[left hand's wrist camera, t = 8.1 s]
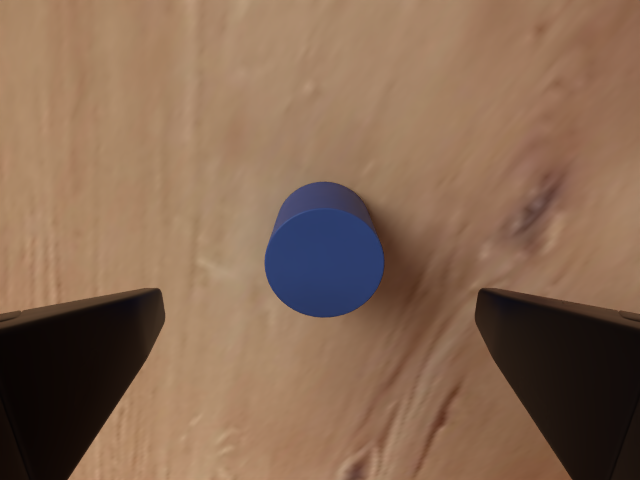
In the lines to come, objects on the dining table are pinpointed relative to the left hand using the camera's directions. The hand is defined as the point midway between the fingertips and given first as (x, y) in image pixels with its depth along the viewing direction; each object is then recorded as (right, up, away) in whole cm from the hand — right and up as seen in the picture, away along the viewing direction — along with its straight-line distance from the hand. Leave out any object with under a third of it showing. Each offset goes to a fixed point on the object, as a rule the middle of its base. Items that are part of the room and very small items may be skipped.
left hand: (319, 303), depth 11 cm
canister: (0, +2, +7) cm, 8 cm away
